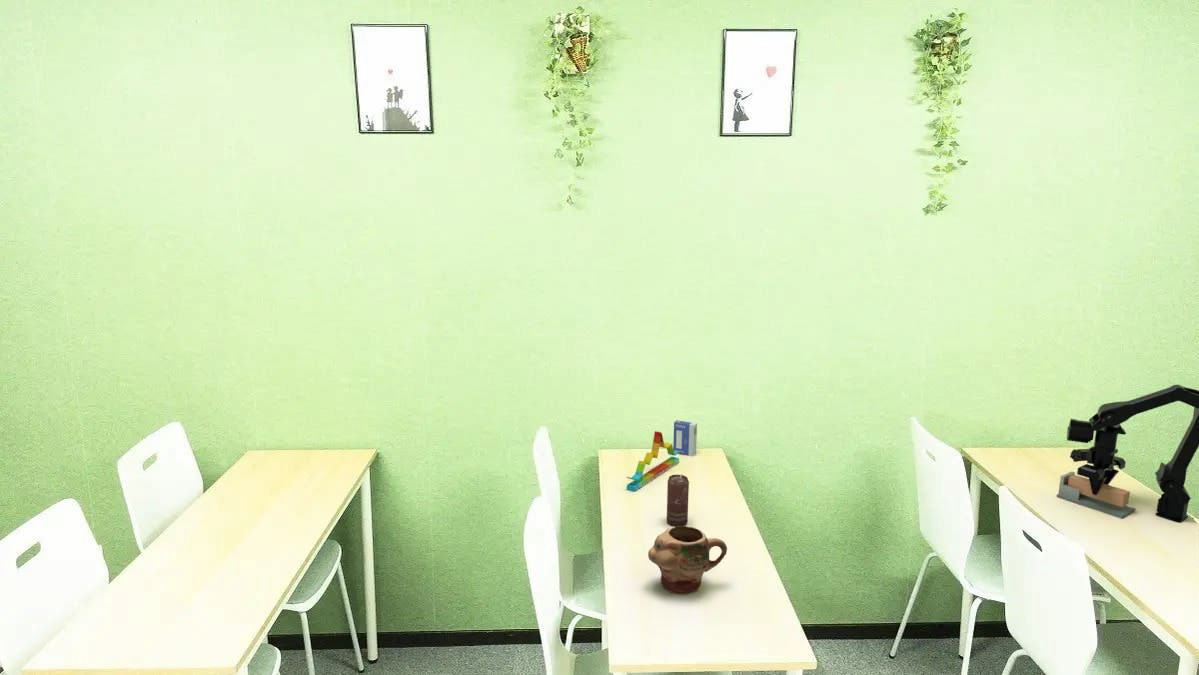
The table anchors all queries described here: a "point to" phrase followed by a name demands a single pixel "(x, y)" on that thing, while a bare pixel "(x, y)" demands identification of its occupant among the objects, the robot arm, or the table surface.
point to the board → (1101, 506)
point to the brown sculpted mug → (684, 558)
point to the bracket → (1068, 487)
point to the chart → (645, 478)
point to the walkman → (685, 438)
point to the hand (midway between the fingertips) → (1097, 492)
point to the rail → (1101, 491)
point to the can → (677, 500)
